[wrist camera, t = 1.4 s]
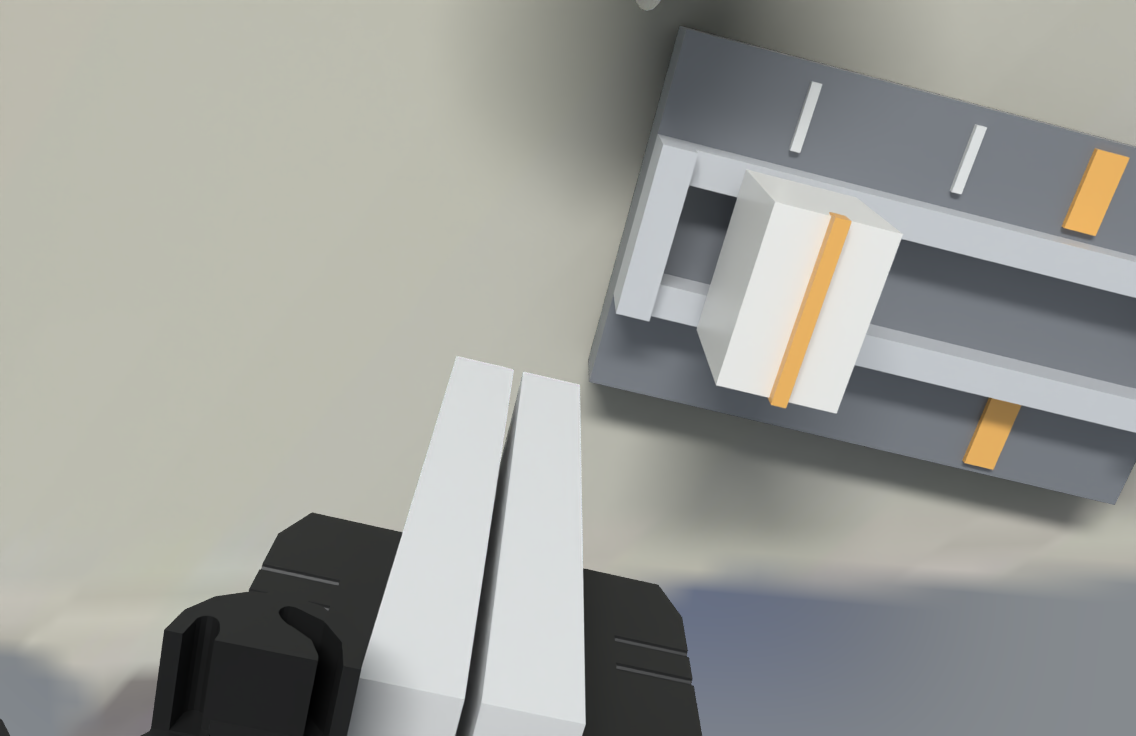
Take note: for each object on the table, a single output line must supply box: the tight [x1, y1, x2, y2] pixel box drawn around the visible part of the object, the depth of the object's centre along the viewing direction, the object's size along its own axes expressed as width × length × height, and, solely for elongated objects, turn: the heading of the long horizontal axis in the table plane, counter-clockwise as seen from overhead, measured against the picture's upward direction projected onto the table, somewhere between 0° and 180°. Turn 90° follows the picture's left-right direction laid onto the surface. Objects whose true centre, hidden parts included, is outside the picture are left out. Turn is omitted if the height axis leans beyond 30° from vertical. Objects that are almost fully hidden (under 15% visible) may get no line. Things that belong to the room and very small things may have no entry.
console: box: [588, 26, 1136, 505], centre depth 32 cm, size 18×11×4 cm, turn 76°
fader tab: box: [697, 169, 903, 414], centre depth 28 cm, size 3×5×6 cm, turn 166°
